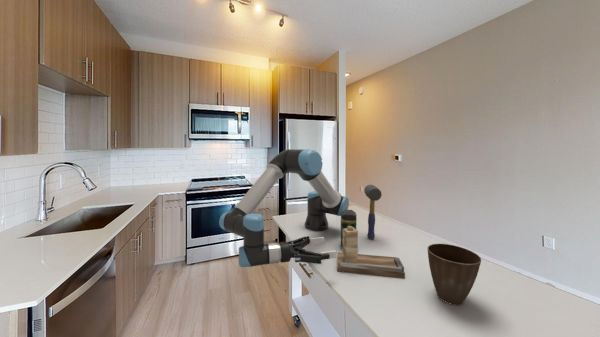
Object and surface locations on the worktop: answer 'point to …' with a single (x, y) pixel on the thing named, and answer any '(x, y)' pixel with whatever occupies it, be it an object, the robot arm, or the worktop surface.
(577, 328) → the worktop surface
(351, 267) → the walnut board
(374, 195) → the rubber mallet
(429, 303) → the worktop surface
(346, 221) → the coffee jar
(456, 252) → the plant pot
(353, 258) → the beige tall block
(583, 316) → the worktop surface
